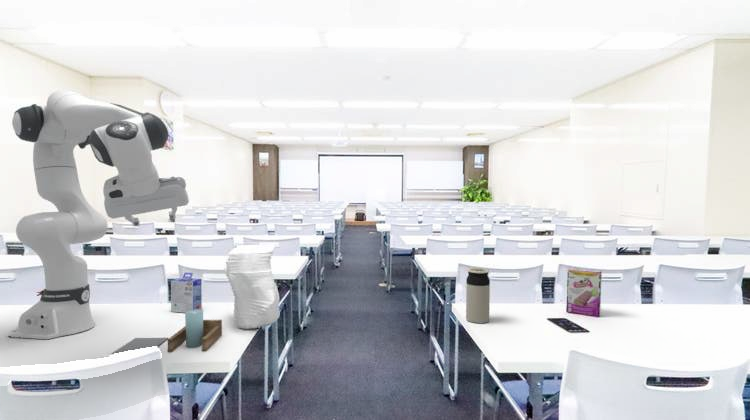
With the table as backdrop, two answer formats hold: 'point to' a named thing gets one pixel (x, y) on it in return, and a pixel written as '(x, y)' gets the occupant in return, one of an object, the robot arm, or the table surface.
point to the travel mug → (477, 295)
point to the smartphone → (568, 325)
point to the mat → (141, 344)
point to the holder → (210, 334)
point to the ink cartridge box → (186, 294)
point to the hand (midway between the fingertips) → (155, 221)
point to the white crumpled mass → (253, 286)
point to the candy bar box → (584, 292)
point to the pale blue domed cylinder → (194, 327)
